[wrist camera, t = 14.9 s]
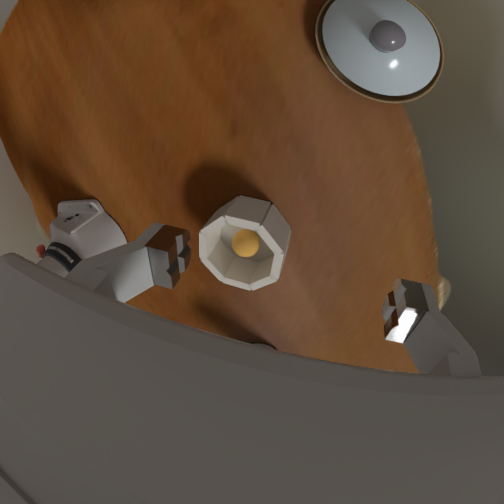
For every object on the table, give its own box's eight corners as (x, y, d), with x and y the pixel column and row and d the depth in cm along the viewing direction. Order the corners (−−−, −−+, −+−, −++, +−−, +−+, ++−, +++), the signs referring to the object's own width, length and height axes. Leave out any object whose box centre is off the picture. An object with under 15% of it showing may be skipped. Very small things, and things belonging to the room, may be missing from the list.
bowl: (214, 253, 46) (200, 276, 41) (216, 190, 39) (198, 209, 34) (282, 271, 44) (274, 297, 40) (296, 208, 37) (288, 230, 32)
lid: (315, 77, 25) (312, 76, 21) (328, -20, 16) (327, -34, 13) (426, 111, 22) (439, 117, 19) (441, 16, 14) (456, 8, 11)
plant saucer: (439, 13, 16) (446, 9, 14) (429, 116, 25) (436, 119, 23) (319, -17, 18) (317, -24, 16) (312, 87, 27) (310, 88, 25)
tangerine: (236, 243, 42) (227, 258, 39) (238, 221, 40) (228, 235, 37) (261, 249, 42) (254, 265, 39) (264, 227, 39) (257, 242, 36)
